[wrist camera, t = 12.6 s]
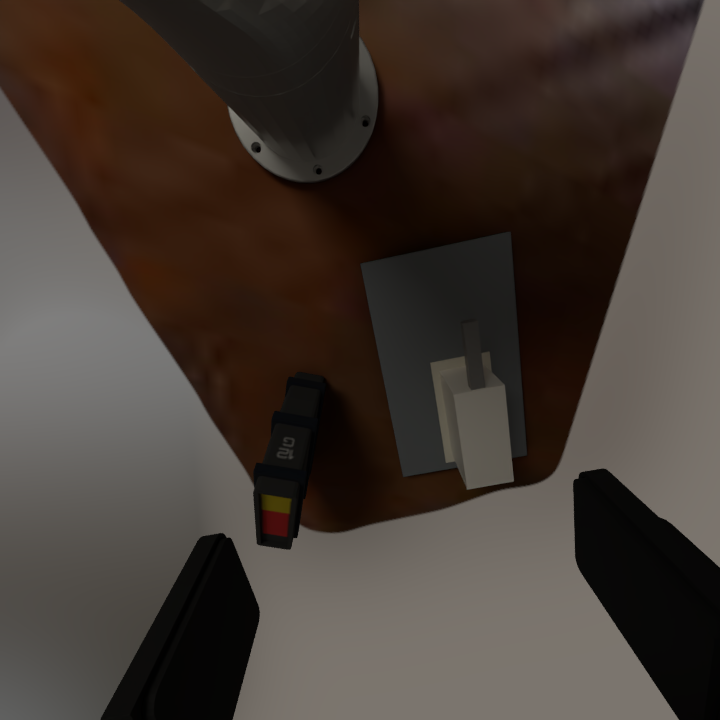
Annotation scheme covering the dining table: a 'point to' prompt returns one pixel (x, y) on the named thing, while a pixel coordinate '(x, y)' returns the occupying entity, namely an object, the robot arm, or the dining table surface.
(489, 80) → the dining table surface
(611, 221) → the dining table surface
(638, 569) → the robot arm
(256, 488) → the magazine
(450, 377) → the plug
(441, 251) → the board
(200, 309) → the dining table surface
